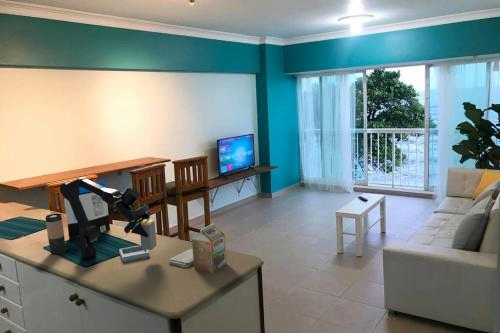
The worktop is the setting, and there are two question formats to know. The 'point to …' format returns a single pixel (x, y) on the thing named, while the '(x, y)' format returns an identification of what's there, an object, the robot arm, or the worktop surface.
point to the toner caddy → (149, 241)
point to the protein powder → (88, 212)
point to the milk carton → (209, 249)
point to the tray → (133, 253)
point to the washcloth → (183, 259)
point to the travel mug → (55, 234)
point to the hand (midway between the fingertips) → (150, 234)
